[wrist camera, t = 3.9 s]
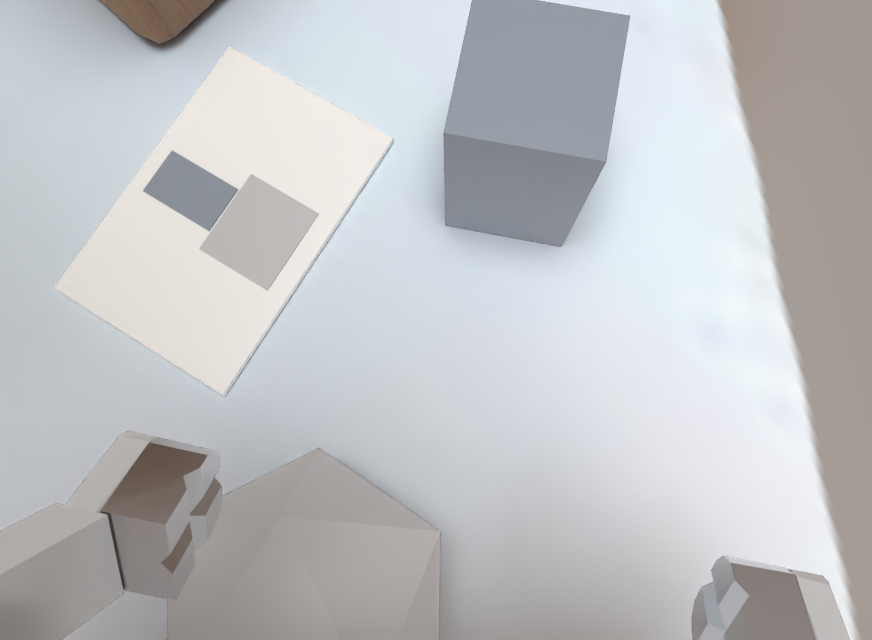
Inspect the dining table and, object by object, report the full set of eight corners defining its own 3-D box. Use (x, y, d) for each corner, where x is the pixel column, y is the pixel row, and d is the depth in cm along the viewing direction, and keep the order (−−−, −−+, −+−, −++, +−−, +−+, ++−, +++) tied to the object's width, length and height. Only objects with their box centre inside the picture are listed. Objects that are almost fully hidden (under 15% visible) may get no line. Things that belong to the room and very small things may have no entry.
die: (192, 695, 25) (274, 940, 17) (94, 493, 22) (134, 667, 14) (388, 575, 28) (536, 729, 20) (324, 387, 26) (464, 477, 17)
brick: (561, 246, 27) (606, 161, 19) (445, 225, 27) (443, 132, 20) (579, 139, 28) (630, 15, 20) (467, 119, 28) (474, -11, 20)
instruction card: (225, 396, 26) (221, 395, 26) (57, 289, 27) (52, 287, 27) (393, 141, 28) (392, 137, 28) (231, 50, 29) (228, 44, 29)
